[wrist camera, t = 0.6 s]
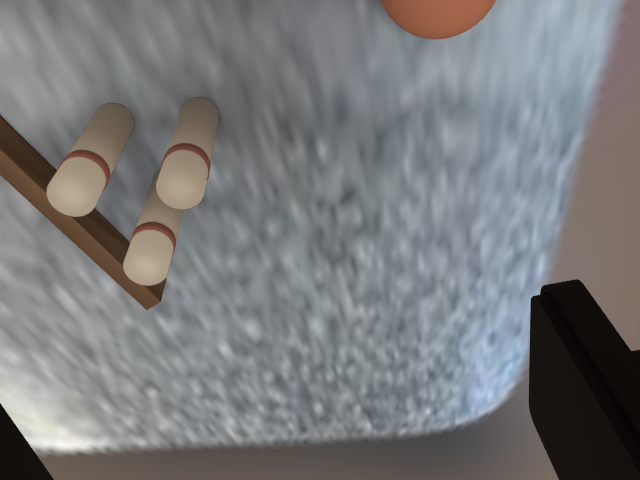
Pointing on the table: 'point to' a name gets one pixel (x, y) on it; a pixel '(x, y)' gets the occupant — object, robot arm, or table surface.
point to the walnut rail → (85, 231)
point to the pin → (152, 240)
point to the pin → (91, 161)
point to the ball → (437, 16)
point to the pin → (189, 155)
